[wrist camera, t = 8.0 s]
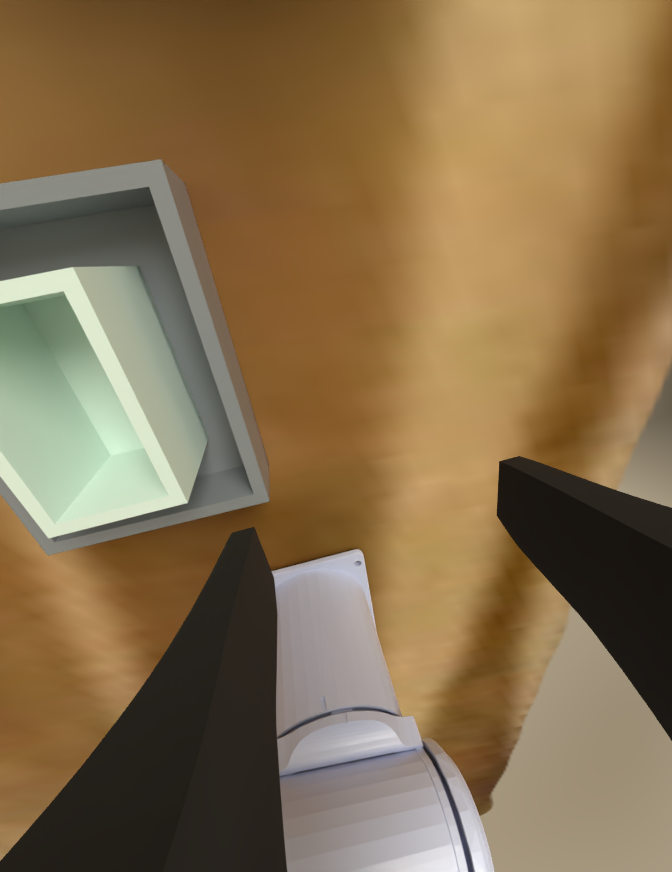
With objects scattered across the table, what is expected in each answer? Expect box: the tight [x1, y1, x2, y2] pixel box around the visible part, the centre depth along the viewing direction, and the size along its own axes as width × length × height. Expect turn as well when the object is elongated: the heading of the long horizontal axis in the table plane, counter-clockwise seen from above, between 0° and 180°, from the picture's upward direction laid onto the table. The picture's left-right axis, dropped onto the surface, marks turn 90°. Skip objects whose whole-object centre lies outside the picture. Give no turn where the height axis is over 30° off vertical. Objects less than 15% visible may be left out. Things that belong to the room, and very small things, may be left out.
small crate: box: [0, 266, 209, 538], centre depth 13 cm, size 8×5×6 cm, turn 10°
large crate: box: [0, 159, 270, 555], centre depth 15 cm, size 13×10×4 cm
